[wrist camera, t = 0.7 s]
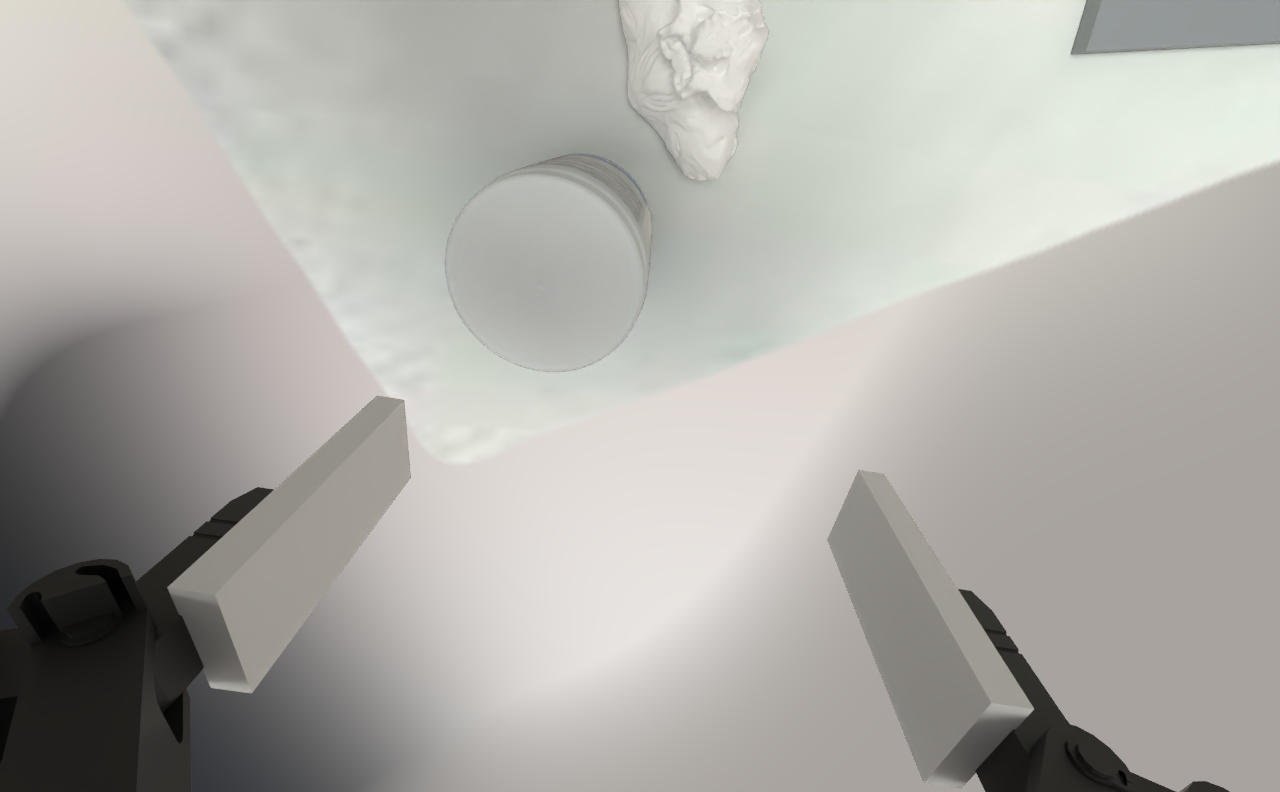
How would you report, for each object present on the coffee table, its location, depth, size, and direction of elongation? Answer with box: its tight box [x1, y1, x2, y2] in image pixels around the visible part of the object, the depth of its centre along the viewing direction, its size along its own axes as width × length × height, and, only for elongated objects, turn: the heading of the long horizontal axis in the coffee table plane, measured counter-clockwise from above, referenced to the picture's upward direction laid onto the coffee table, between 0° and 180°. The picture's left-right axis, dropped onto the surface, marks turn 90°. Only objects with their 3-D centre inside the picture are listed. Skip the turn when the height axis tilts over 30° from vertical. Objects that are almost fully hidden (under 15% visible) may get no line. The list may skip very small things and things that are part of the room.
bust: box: [618, 0, 769, 181], centre depth 27 cm, size 12×8×11 cm
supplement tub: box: [445, 154, 652, 372], centre depth 29 cm, size 10×10×15 cm
